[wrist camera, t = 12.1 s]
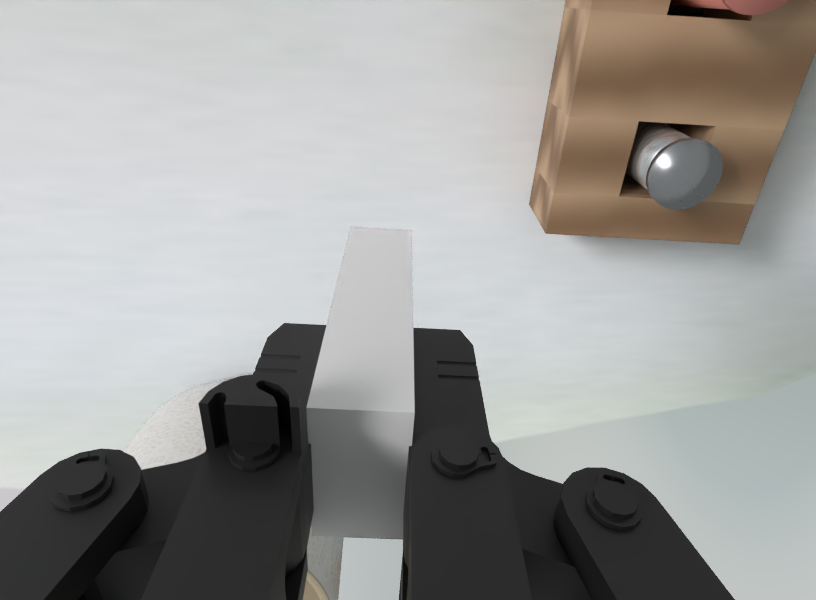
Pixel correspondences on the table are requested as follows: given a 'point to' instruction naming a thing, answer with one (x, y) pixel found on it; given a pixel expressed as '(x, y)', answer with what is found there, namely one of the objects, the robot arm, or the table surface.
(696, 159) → the plug grey
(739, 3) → the plug red
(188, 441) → the planter
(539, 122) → the table surface
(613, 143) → the socket block
